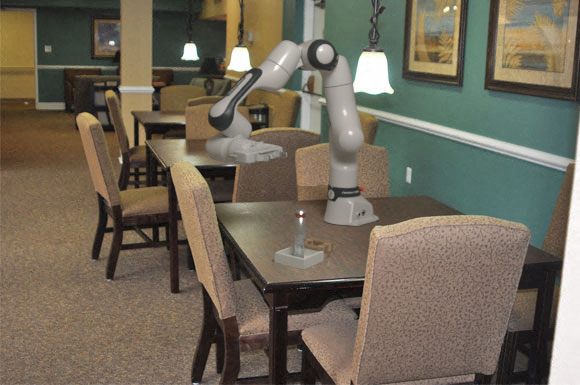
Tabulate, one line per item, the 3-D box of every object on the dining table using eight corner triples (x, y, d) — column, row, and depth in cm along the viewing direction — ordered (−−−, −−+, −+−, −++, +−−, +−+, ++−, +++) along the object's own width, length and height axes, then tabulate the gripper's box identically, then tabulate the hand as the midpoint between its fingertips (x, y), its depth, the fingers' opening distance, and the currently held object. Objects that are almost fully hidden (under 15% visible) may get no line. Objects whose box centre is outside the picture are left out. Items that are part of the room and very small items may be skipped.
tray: (294, 254, 213) (294, 244, 212) (323, 261, 207) (323, 251, 206) (274, 262, 204) (274, 252, 204) (303, 269, 198) (304, 259, 198)
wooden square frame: (310, 249, 219) (311, 237, 218) (333, 254, 214) (334, 242, 213) (295, 255, 212) (295, 243, 211) (318, 261, 207) (319, 248, 206)
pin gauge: (300, 257, 208) (301, 208, 204) (306, 260, 205) (308, 210, 202) (291, 259, 206) (293, 209, 203) (297, 262, 203) (299, 211, 200)
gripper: (225, 146, 217) (258, 150, 209) (263, 140, 234) (295, 144, 226) (225, 165, 219) (258, 170, 211) (262, 157, 235) (294, 162, 227)
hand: (277, 156), depth 219 cm, fingers open, 8 cm apart
